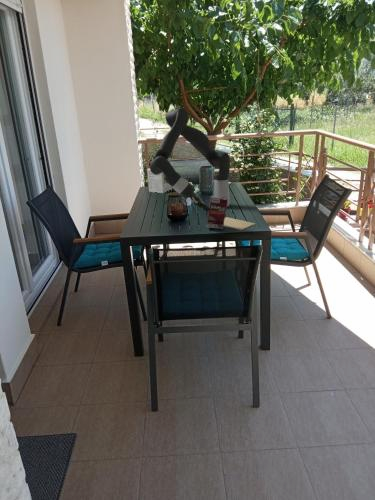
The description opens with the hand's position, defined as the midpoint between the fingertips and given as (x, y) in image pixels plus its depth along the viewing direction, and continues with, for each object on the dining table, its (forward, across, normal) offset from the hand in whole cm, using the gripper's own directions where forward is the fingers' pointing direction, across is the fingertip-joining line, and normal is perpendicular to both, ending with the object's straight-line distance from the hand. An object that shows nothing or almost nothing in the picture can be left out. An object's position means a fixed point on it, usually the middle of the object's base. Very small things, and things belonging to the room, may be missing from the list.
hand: (208, 210), depth 199 cm
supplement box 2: (+9, +2, +5) cm, 10 cm away
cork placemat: (+17, +8, -2) cm, 19 cm away
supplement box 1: (-17, +98, +31) cm, 105 cm away
